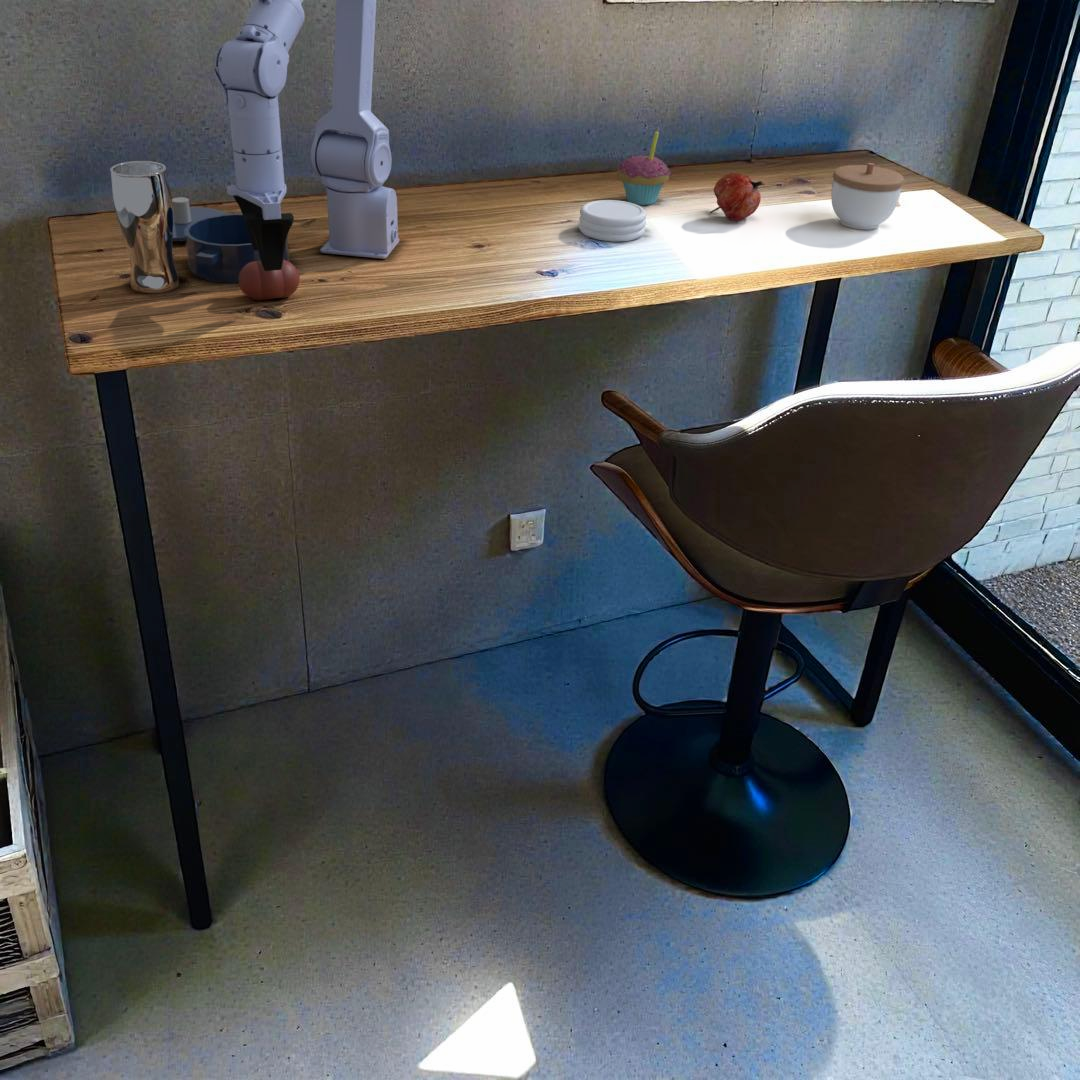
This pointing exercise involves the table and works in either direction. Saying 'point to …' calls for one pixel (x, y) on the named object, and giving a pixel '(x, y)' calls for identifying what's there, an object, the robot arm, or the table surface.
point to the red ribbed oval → (268, 281)
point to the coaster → (612, 220)
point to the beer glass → (146, 223)
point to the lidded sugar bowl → (865, 195)
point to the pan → (220, 247)
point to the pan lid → (188, 216)
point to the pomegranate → (737, 196)
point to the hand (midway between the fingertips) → (267, 259)
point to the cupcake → (643, 176)
